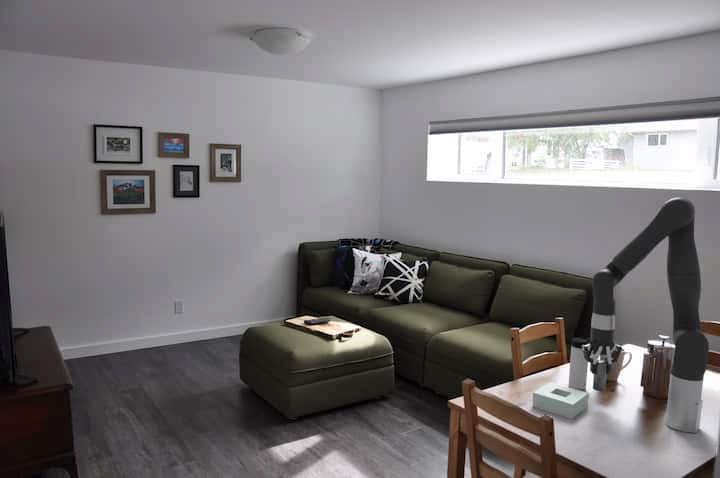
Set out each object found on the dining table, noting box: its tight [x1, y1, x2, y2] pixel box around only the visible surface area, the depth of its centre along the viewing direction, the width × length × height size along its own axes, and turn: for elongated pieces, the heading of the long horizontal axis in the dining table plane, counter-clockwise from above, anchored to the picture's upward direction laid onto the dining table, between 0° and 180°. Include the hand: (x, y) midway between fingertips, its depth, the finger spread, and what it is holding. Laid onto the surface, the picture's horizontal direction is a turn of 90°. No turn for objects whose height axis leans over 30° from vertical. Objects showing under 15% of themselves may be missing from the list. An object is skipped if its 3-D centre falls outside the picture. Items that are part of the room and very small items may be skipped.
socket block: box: [532, 381, 589, 420], centre depth 195 cm, size 14×14×5 cm
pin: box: [592, 359, 607, 392], centre depth 195 cm, size 4×4×10 cm
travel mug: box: [567, 336, 591, 392], centre depth 211 cm, size 6×7×20 cm
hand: (599, 373), depth 195 cm, fingers closed on pin, 4 cm apart
